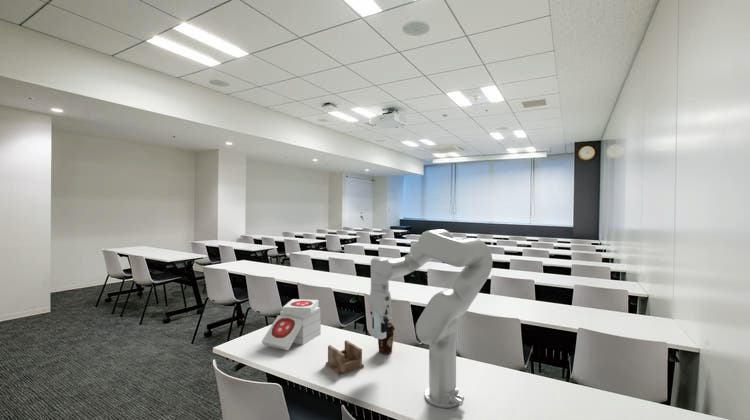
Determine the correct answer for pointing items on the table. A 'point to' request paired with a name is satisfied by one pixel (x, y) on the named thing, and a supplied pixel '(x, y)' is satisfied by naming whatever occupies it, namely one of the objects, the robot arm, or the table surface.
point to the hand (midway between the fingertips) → (380, 329)
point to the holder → (345, 359)
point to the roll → (378, 326)
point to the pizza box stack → (295, 324)
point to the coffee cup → (387, 341)
